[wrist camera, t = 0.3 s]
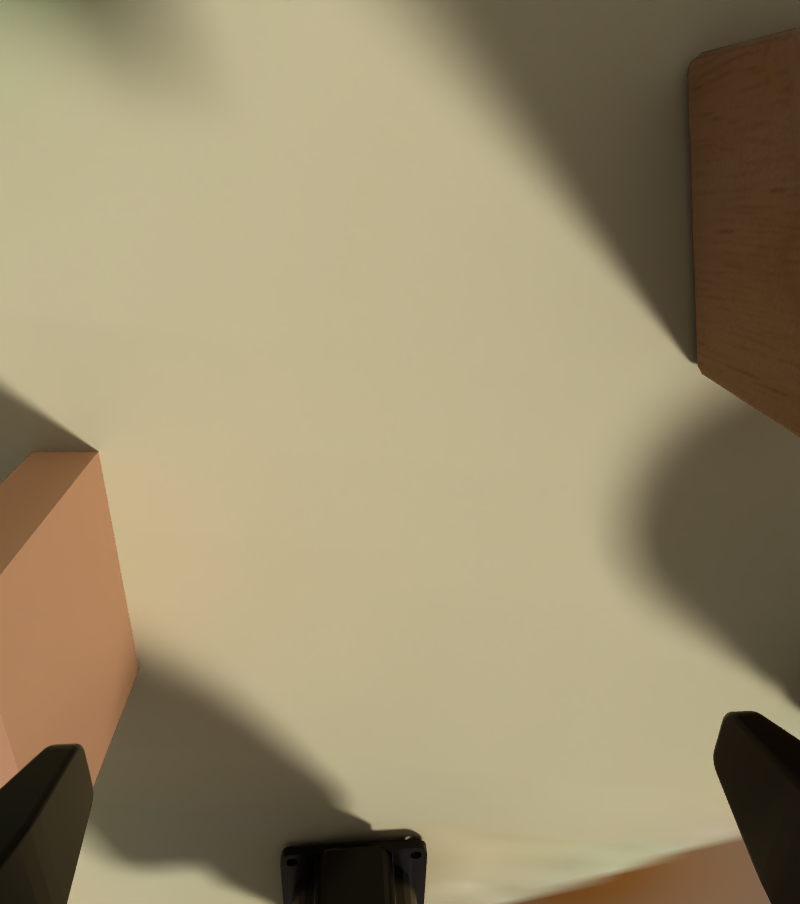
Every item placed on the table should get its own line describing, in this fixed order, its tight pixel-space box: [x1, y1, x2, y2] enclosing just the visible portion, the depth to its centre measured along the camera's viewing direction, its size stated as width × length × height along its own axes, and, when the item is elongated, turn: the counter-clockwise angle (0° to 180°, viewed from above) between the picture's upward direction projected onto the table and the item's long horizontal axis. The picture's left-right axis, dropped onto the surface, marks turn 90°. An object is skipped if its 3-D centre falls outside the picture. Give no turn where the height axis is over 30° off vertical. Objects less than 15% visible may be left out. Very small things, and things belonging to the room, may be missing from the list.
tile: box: [0, 451, 139, 788], centre depth 19 cm, size 9×2×8 cm, turn 178°
